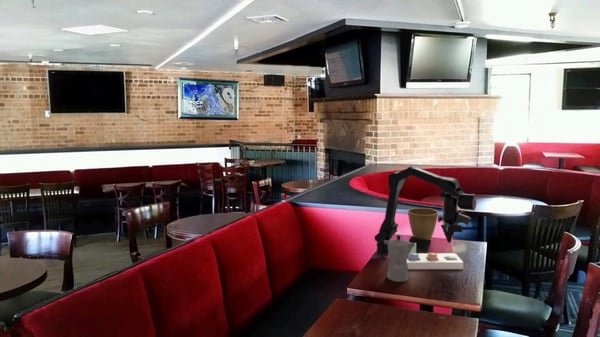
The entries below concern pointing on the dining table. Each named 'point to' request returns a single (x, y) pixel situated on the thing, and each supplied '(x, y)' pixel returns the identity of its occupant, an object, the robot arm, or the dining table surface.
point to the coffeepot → (397, 258)
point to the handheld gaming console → (420, 244)
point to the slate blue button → (413, 256)
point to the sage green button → (450, 258)
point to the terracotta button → (432, 256)
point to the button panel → (434, 261)
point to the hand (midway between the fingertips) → (449, 242)
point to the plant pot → (422, 222)
